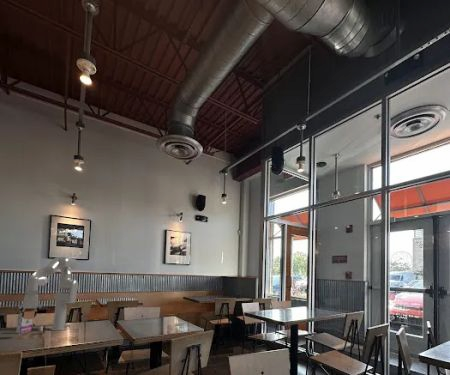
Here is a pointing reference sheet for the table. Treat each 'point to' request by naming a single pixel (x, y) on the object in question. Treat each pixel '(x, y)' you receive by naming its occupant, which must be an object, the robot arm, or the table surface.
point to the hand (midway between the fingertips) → (28, 316)
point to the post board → (33, 334)
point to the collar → (29, 315)
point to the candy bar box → (23, 324)
